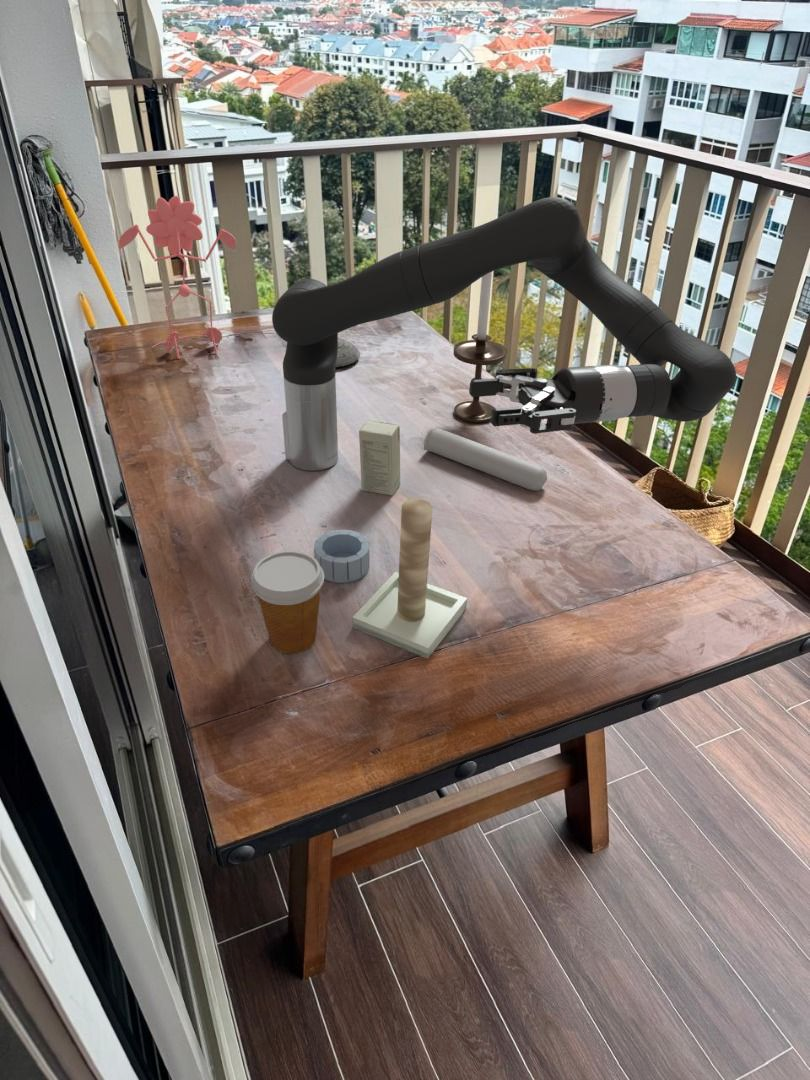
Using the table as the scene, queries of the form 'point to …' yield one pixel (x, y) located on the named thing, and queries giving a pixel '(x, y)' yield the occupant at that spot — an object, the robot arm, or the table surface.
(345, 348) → the flying saucer
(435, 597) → the tray
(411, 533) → the dowel
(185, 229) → the figurine
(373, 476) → the skincare box
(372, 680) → the table surface
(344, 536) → the holder
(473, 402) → the candlestick
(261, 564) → the disposable coffee cup
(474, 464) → the tube
